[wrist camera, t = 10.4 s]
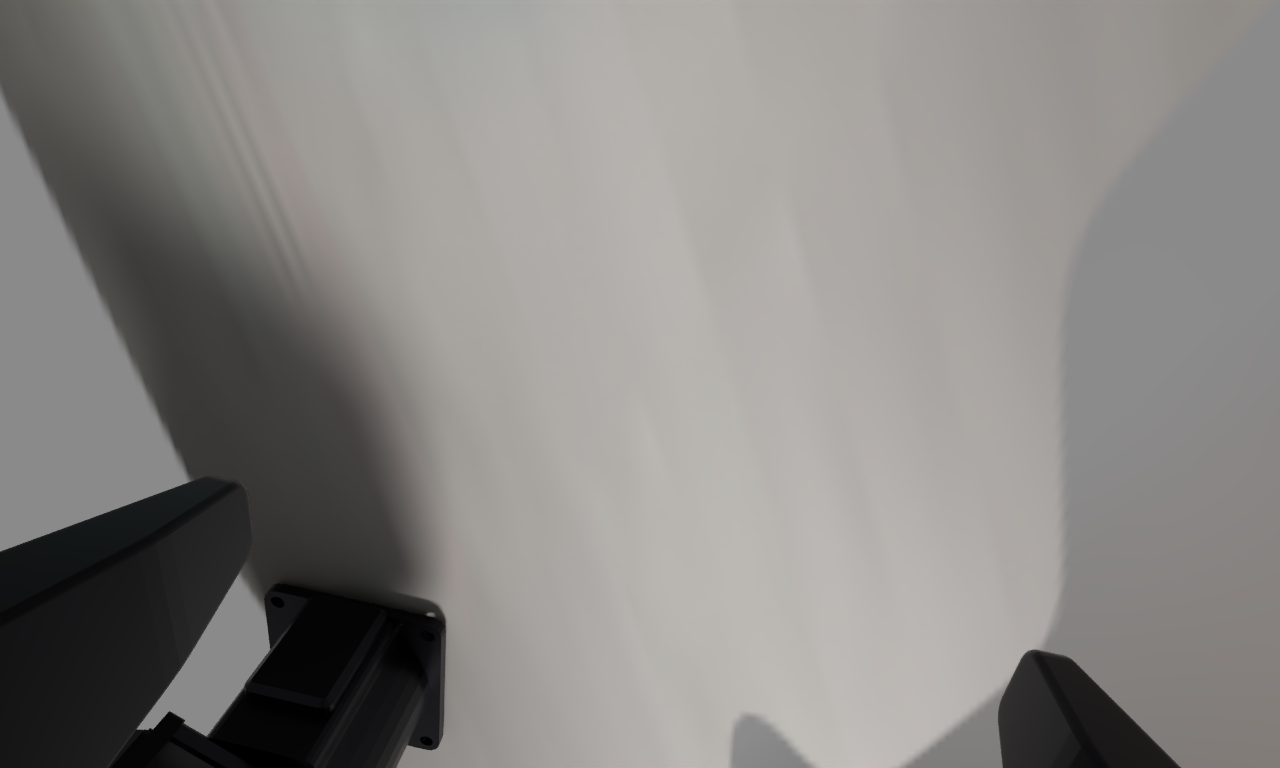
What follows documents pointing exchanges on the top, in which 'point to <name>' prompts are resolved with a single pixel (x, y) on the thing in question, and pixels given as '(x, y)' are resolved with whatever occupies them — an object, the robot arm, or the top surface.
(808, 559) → the top surface
